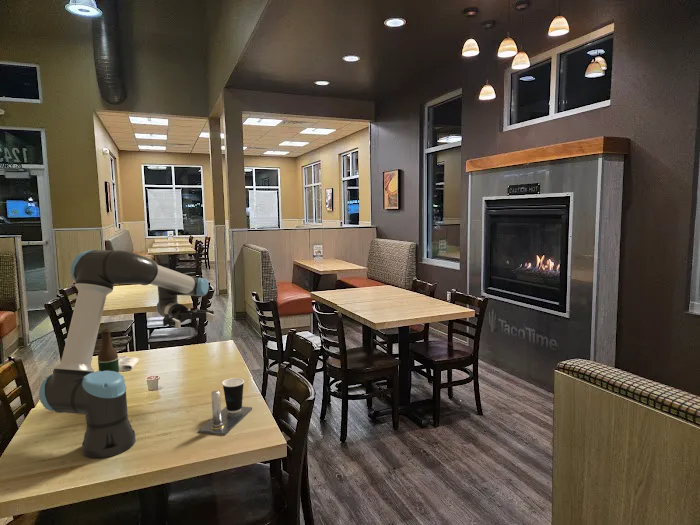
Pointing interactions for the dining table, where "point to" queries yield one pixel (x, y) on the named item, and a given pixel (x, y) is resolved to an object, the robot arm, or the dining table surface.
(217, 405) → the post
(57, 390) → the robot arm
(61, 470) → the dining table surface
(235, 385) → the dixie cup
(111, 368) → the beer bottle
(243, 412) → the plate
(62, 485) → the dining table surface
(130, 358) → the folded newspaper
